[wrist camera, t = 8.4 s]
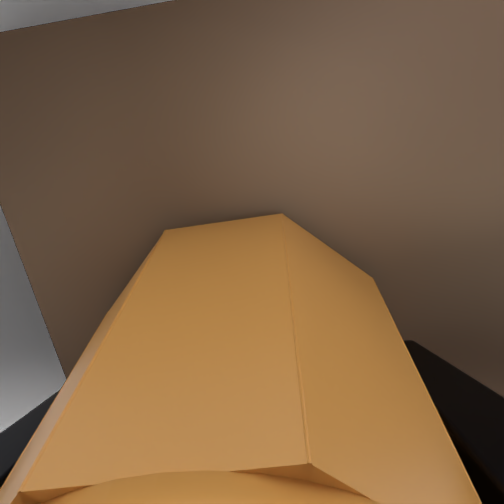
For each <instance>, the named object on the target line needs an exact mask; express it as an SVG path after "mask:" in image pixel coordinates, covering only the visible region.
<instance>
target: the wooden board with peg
mask: <svg viewBox="0 0 504 504" xmlns="http://www.w3.org/2000/svg"><path fill="white" fill-rule="evenodd" d="M0 205H1V207H2V210H3V213H4V215H5V218H6V220H7V223H8V226H9V228H10V231H11V234H12V236H13V239H14V242H15V244H16V247H17V250H18V252H19V255H20V257H21V260H22V263H23V265H24V268H25V271H26V273H27V276H28V279H29V281H30V284H31V287H32V289H33V292H34V294H35V297H36V300H37V302H38V305H39V308H40V310H41V313H42V316H43V318H44V321H45V324H46V326H47V329H48V332H49V334H50V337H51V339H52V342H53V345H54V347H55V350H56V353H57V355H58V358H59V361H60V363H61V366H62V369H63V371H64V374H65V376H66V379H67V378H68V376H69V375H70V373H71V371H72V370H73V368H74V366H75V365H76V363H77V362H78V360H79V358H80V357H81V355H82V353H83V352H84V350H85V348H86V347H87V345H88V343H89V342H90V340H91V338H92V337H93V335H94V333H95V332H96V330H97V329H98V327H99V325H100V324H101V322H102V320H103V319H104V317H105V315H106V314H107V312H108V311H109V310H110V309H111V307H112V306H113V304H114V303H115V301H116V300H117V299H118V297H119V296H120V294H121V293H122V291H123V290H124V289H125V287H126V286H127V284H128V283H129V281H130V280H131V279H132V277H133V276H134V274H135V273H136V271H137V270H138V268H139V267H140V266H141V264H142V263H143V261H144V260H145V258H146V257H147V256H148V254H149V253H150V251H151V250H152V248H153V247H154V246H155V244H156V243H157V241H158V240H159V238H160V237H161V236H162V234H163V232H164V230H169V229H176V228H183V227H190V226H197V225H204V224H211V223H218V222H225V221H232V220H239V219H246V218H253V217H260V216H267V215H274V214H281V213H283V214H284V215H285V216H286V217H288V218H289V219H291V220H292V221H293V222H295V223H296V224H298V225H299V226H300V227H302V228H303V229H305V230H306V231H307V232H309V233H310V234H312V235H313V236H314V237H316V238H317V239H319V240H320V241H322V242H323V243H324V244H326V245H327V246H329V247H330V248H331V249H333V250H334V251H336V252H337V253H338V254H340V255H341V256H343V257H344V258H345V259H347V260H348V261H350V262H351V263H352V264H354V265H355V266H357V267H358V268H359V269H361V270H362V271H364V272H365V273H366V274H368V275H369V276H371V277H373V279H374V281H375V283H376V285H377V287H378V289H379V291H380V294H381V296H382V298H383V300H384V302H385V304H386V306H387V308H388V310H389V312H390V314H391V316H392V318H393V320H394V322H395V324H396V327H397V329H398V331H399V333H400V335H401V337H402V339H403V341H404V340H413V341H415V342H417V343H418V344H420V345H422V346H423V347H425V348H426V349H428V350H430V351H431V352H433V353H434V354H436V355H437V356H439V357H441V358H442V359H444V360H445V361H447V362H449V363H450V364H452V365H453V366H455V367H457V368H458V369H460V370H461V371H463V372H465V373H466V374H468V375H469V376H471V377H472V378H474V379H476V380H477V381H479V382H480V383H482V384H484V385H485V386H487V387H488V388H490V389H492V390H493V391H495V392H496V393H498V394H500V395H501V396H503V397H504V0H173V1H167V2H162V3H156V4H151V5H145V6H140V7H135V8H129V9H124V10H118V11H113V12H107V13H102V14H97V15H91V16H86V17H80V18H75V19H69V20H64V21H58V22H53V23H48V24H42V25H37V26H31V27H26V28H20V29H15V30H9V31H4V32H0Z"/></svg>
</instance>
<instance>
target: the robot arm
mask: <svg viewBox="0 0 504 504" xmlns="http://www.w3.org/2000/svg"><path fill="white" fill-rule="evenodd" d="M404 343H405V345H406V347H407V349H408V351H409V353H410V355H411V358H412V360H413V362H414V364H415V366H416V368H417V370H418V372H419V374H420V376H421V378H422V380H423V382H424V384H425V386H426V389H427V391H428V393H429V395H430V397H431V399H432V401H433V403H434V405H435V407H436V409H437V411H438V413H439V415H440V417H441V419H442V422H443V424H444V426H445V428H446V430H447V432H448V434H449V436H450V438H451V440H452V442H453V444H454V446H455V448H456V450H457V453H458V455H459V457H460V459H461V461H462V463H463V465H464V467H465V469H466V471H467V473H468V475H469V477H470V479H471V481H472V484H473V486H474V488H475V490H476V492H477V494H478V496H479V498H480V500H481V502H482V504H504V397H503V396H501V395H500V394H498V393H496V392H495V391H493V390H492V389H490V388H488V387H487V386H485V385H484V384H482V383H480V382H479V381H477V380H476V379H474V378H472V377H471V376H469V375H468V374H466V373H465V372H463V371H461V370H460V369H458V368H457V367H455V366H453V365H452V364H450V363H449V362H447V361H445V360H444V359H442V358H441V357H439V356H437V355H436V354H434V353H433V352H431V351H430V350H428V349H426V348H425V347H423V346H422V345H420V344H418V343H417V342H415V341H413V340H404ZM60 390H61V389H60ZM60 390H59V391H60ZM59 391H58V392H56V393H55V394H54V395H52V396H51V397H49V398H48V399H47V400H45V401H44V402H43V403H41V404H40V405H39V406H37V407H36V408H34V409H33V410H32V411H30V412H29V413H28V414H26V415H25V416H24V417H22V418H21V419H19V420H18V421H17V422H15V423H14V424H13V425H11V426H10V427H8V428H7V429H6V430H4V431H3V432H2V433H0V489H1V487H2V485H3V484H4V482H5V480H6V479H7V477H8V476H9V474H10V472H11V471H12V469H13V467H14V466H15V464H16V462H17V461H18V459H19V457H20V456H21V454H22V452H23V451H24V449H25V447H26V446H27V444H28V442H29V441H30V439H31V438H32V436H33V434H34V433H35V431H36V429H37V428H38V426H39V424H40V423H41V421H42V419H43V418H44V416H45V414H46V413H47V411H48V409H49V408H50V406H51V404H52V403H53V401H54V400H55V398H56V396H57V395H58V393H59Z"/></svg>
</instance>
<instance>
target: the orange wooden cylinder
mask: <svg viewBox="0 0 504 504" xmlns="http://www.w3.org/2000/svg"><path fill="white" fill-rule="evenodd" d="M0 504H482V502H481V500H480V498H479V496H478V494H477V492H476V490H475V488H474V486H473V484H472V481H471V479H470V477H469V475H468V473H467V471H466V469H465V467H464V465H463V463H462V461H461V459H460V457H459V455H458V453H457V450H456V448H455V446H454V444H453V442H452V440H451V438H450V436H449V434H448V432H447V430H446V428H445V426H444V424H443V422H442V419H441V417H440V415H439V413H438V411H437V409H436V407H435V405H434V403H433V401H432V399H431V397H430V395H429V393H428V391H427V389H426V386H425V384H424V382H423V380H422V378H421V376H420V374H419V372H418V370H417V368H416V366H415V364H414V362H413V360H412V358H411V355H410V353H409V351H408V349H407V347H406V345H405V343H404V341H403V339H402V337H401V335H400V333H399V331H398V329H397V327H396V324H395V322H394V320H393V318H392V316H391V314H390V312H389V310H388V308H387V306H386V304H385V302H384V300H383V298H382V296H381V294H380V291H379V289H378V287H377V285H376V283H375V281H374V279H373V277H371V276H369V275H368V274H366V273H365V272H364V271H362V270H361V269H359V268H358V267H357V266H355V265H354V264H352V263H351V262H350V261H348V260H347V259H345V258H344V257H343V256H341V255H340V254H338V253H337V252H336V251H334V250H333V249H331V248H330V247H329V246H327V245H326V244H324V243H323V242H322V241H320V240H319V239H317V238H316V237H314V236H313V235H312V234H310V233H309V232H307V231H306V230H305V229H303V228H302V227H300V226H299V225H298V224H296V223H295V222H293V221H292V220H291V219H289V218H288V217H286V216H285V215H284V214H283V213H281V214H274V215H267V216H260V217H253V218H246V219H239V220H232V221H225V222H218V223H211V224H204V225H197V226H190V227H183V228H176V229H169V230H164V232H163V234H162V236H161V237H160V238H159V240H158V241H157V243H156V244H155V246H154V247H153V248H152V250H151V251H150V253H149V254H148V256H147V257H146V258H145V260H144V261H143V263H142V264H141V266H140V267H139V268H138V270H137V271H136V273H135V274H134V276H133V277H132V279H131V280H130V281H129V283H128V284H127V286H126V287H125V289H124V290H123V291H122V293H121V294H120V296H119V297H118V299H117V300H116V301H115V303H114V304H113V306H112V307H111V309H110V310H109V311H108V312H107V314H106V315H105V317H104V319H103V320H102V322H101V324H100V325H99V327H98V329H97V330H96V332H95V333H94V335H93V337H92V338H91V340H90V342H89V343H88V345H87V347H86V348H85V350H84V352H83V353H82V355H81V357H80V358H79V360H78V362H77V363H76V365H75V366H74V368H73V370H72V371H71V373H70V375H69V376H68V378H67V380H66V381H65V383H64V385H63V386H62V388H61V390H60V391H59V393H58V395H57V396H56V398H55V400H54V401H53V403H52V404H51V406H50V408H49V409H48V411H47V413H46V414H45V416H44V418H43V419H42V421H41V423H40V424H39V426H38V428H37V429H36V431H35V433H34V434H33V436H32V438H31V439H30V441H29V442H28V444H27V446H26V447H25V449H24V451H23V452H22V454H21V456H20V457H19V459H18V461H17V462H16V464H15V466H14V467H13V469H12V471H11V472H10V474H9V476H8V477H7V479H6V480H5V482H4V484H3V485H2V487H1V489H0Z"/></svg>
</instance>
